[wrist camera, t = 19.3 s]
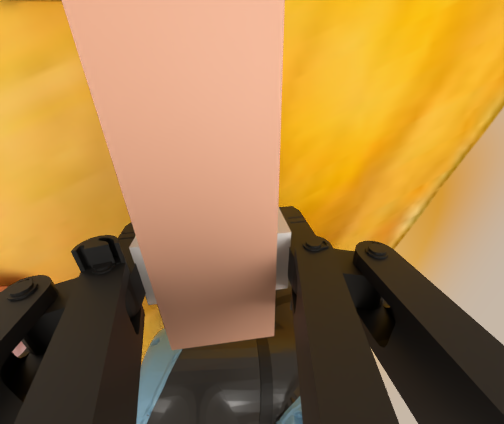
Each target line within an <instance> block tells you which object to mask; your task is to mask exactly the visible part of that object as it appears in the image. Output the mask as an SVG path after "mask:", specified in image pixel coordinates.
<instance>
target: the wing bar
mask: <svg viewBox="0 0 504 424" xmlns="http://www.w3.org/2000/svg"><path fill="white" fill-rule="evenodd" d="M284 2H285V0H62V3H63V6H64V10H65V13H66V16H67V19H68V22H69V25H70V29H71V32H72V35H73V38H74V41H75V44H76V48H77V51H78V54H79V57H80V60H81V63H82V67H83V70H84V73H85V76H86V79H87V83H88V86H89V89H90V92H91V95H92V98H93V102H94V105H95V108H96V111H97V114H98V117H99V121H100V124H101V127H102V130H103V133H104V136H105V140H106V143H107V146H108V149H109V152H110V156H111V159H112V162H113V165H114V168H115V171H116V175H117V178H118V181H119V184H120V187H121V190H122V194H123V197H124V200H125V203H126V206H127V210H128V213H129V216H130V219H131V222H132V225H133V229H134V232H135V235H136V238H137V241H138V244H139V248H140V251H141V254H142V257H143V260H144V263H145V267H146V270H147V273H148V276H149V279H150V283H151V286H152V289H153V292H154V295H155V298H156V302H157V305H158V308H159V311H160V314H161V317H162V321H163V324H164V327H165V330H166V333H167V336H168V340H169V343H170V346H171V349H172V350H177V349H184V348H192V347H199V346H206V345H213V344H220V343H228V342H235V341H242V340H249V339H256V338H264V337H271V336H274V328H275V295H276V262H277V230H278V197H279V165H280V132H281V100H282V67H283V35H284Z"/></svg>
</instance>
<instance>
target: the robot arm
mask: <svg viewBox="0 0 504 424" xmlns="http://www.w3.org/2000/svg"><path fill="white" fill-rule="evenodd" d="M71 253H72V255H73V257H74V259H75V261H76V263H77V265H78V267H79V269H80V271H81V273H80V275H79V277H77V278H75V279H71V280H68V281H64V282H61V283H58V284H54V283H53V282H52V280H51V278H49V277H48V276H45V275H37V276H32V277H28V278H24V279H22V280H19V281H17V282H16V283H14V284H12V285H10V286H8V287H7V288H6V289H4V290H3V291H1V292H0V424H399V422H398V419H397V417H396V414H395V411H394V409H393V406H392V404H391V401H390V398H389V396H388V393H387V390H386V388H385V385H384V382H383V380H382V377H381V375H380V372H379V369H378V367H377V364H376V361H375V359H374V356H373V353H372V351H371V349H372V350H373V352H374V354H375V355H376V357H377V358H378V360H379V362H380V363H381V365H382V366H383V368H384V369H385V371H386V372H387V374H388V376H389V378H390V379H391V381H392V382H393V384H394V386H395V387H396V389H397V390H398V392H399V393H400V395H401V397H402V398H403V400H404V401H405V403H406V405H407V406H408V408H409V409H410V411H411V413H412V414H413V416H414V417H415V419H416V421H417V422H418V424H504V346H503V344H501V343H500V342H499V341H498V340H497V339H496V338H495V337H493V336H492V335H491V334H490V333H489V332H488V331H486V330H485V329H484V328H483V327H482V326H481V325H480V324H478V323H477V322H476V321H475V320H474V319H473V318H472V317H470V316H469V315H468V314H467V313H466V312H465V311H463V310H462V309H461V308H460V307H459V306H458V305H457V304H455V303H454V302H453V301H452V300H451V299H450V298H449V297H447V296H446V295H445V294H444V293H443V292H442V291H441V290H439V289H438V288H437V287H436V286H434V284H433V283H431V282H430V281H429V280H428V279H427V278H426V277H424V276H423V275H422V274H421V273H420V272H419V271H418V270H416V269H415V268H414V267H413V266H412V265H411V264H409V263H408V262H407V261H406V260H405V259H404V258H402V257H401V256H400V255H399V254H398V253H397V252H396V251H395V250H393V249H392V248H390V247H389V246H387V245H385V244H382V243H380V242H375V241H363V242H360V243H358V244H357V245H356V248H355V251H347V250H339V249H334V248H333V247H332V245H331V244H330V243H329V242H328V241H327V240H326V239H324V238H321V237H318V236H316V235H315V234H314V232H313V231H312V229H311V228H310V226H309V224H308V223H307V222H306V220H305V218H304V217H303V215H302V214H301V212H300V211H299V210H297V209H296V208H294V207H293V206H289V207H278V230H277V262H276V295H275V328H274V336H271V337H264V338H256V339H249V340H242V341H235V342H228V343H220V344H213V345H206V346H199V347H192V348H184V349H177V350H172V349H171V346H170V343H169V340H168V336H167V333H166V330H165V328H164V329H162V330H161V331H159V332H158V333H157V334H156V336H155V337H154V339H153V340H152V342H151V344H150V346H149V348H148V350H147V352H146V354H145V357H144V359H143V362H142V365H141V356H142V343H143V330H144V317H145V314H144V309H143V307H142V302H143V299H144V297H145V296H146V299H147V302H148V305H152V304H157V302H156V298H155V295H154V292H153V289H152V286H151V283H150V279H149V276H148V273H147V270H146V267H145V263H144V260H143V257H142V254H141V251H140V248H139V244H138V241H137V238H136V235H135V232H134V229H133V225H132V222H131V223H129V224H128V225H127V226H125V228H124V229H123V231H122V232H121V234H120V235H119V237H118V238H116V237H115V236H111V235H104V236H98V237H94V238H90V239H88V240H86V241H83V242H82V243H80V244H79V245H77V246H76V247H75V248H74V249H73V250H72V251H71ZM20 342H22V343H23V344H24V345H25V347H26V349H25V350H24V352H23V353H22V354H21V355H20V356H18V357H17V356H15V355H14V353H13V352H12V351H13V350H14V349H15V348H16V347H17V345H18V344H19V343H20ZM370 347H371V348H370Z"/></svg>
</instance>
